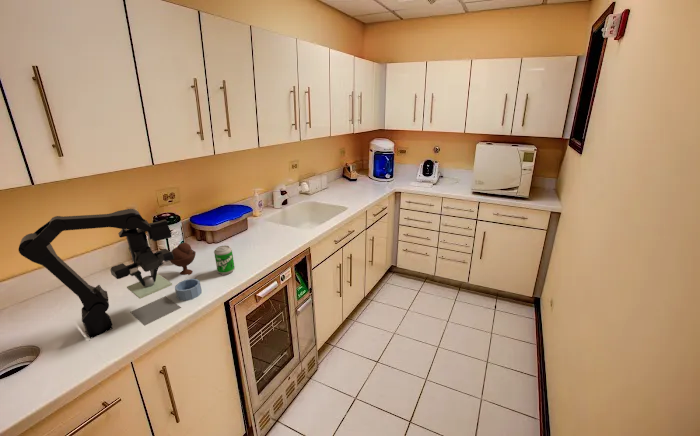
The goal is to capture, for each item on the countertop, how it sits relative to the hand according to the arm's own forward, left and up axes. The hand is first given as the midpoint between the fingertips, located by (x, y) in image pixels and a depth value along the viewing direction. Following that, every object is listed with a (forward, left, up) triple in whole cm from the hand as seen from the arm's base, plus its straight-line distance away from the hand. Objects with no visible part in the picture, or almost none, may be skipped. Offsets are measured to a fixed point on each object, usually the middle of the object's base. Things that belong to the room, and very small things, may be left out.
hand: (149, 283), depth 118 cm
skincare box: (+27, +33, -12) cm, 44 cm away
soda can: (+33, +5, -12) cm, 36 cm away
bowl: (+13, 0, -12) cm, 18 cm away
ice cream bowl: (+21, +19, -12) cm, 31 cm away
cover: (0, 0, -1) cm, 1 cm away
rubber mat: (0, 0, -12) cm, 12 cm away
